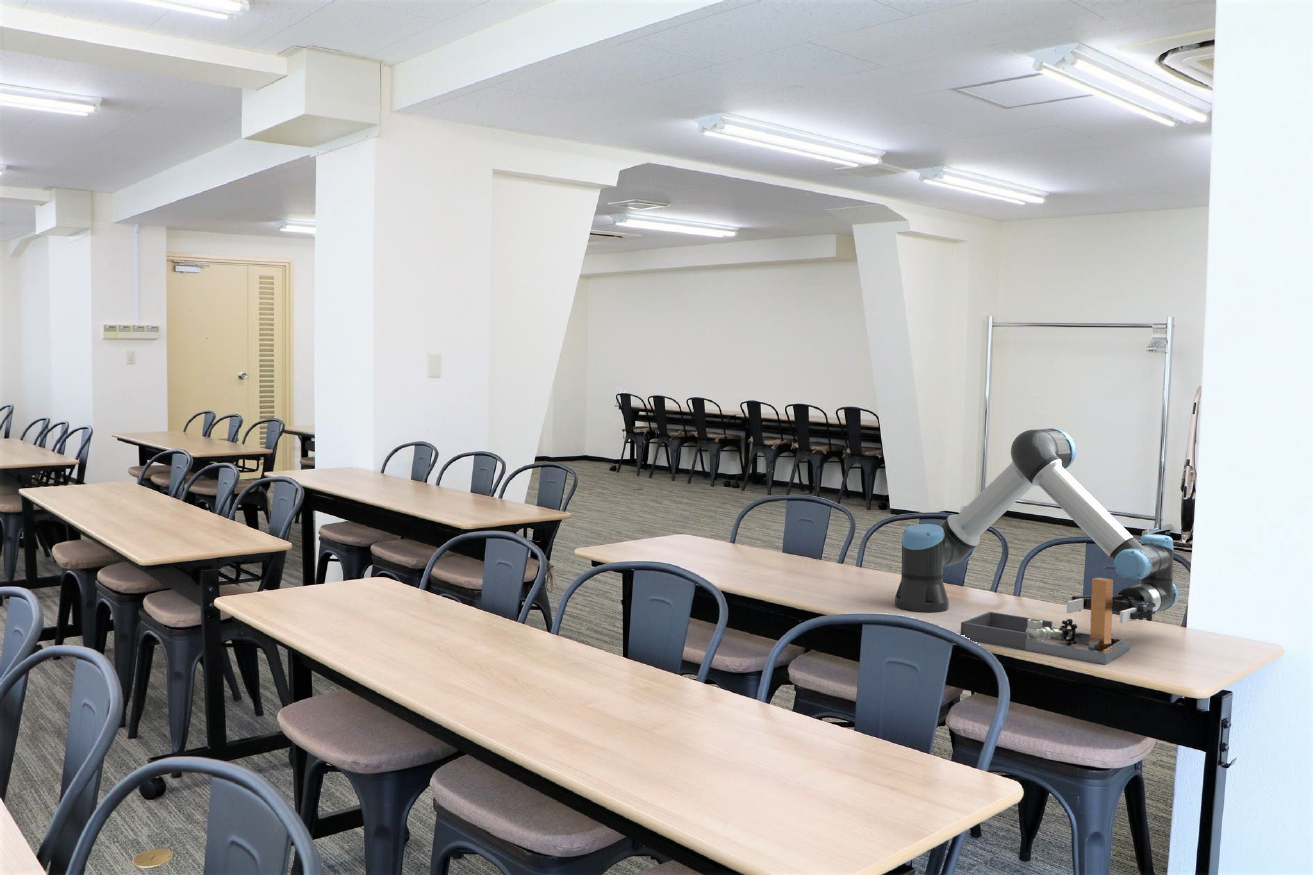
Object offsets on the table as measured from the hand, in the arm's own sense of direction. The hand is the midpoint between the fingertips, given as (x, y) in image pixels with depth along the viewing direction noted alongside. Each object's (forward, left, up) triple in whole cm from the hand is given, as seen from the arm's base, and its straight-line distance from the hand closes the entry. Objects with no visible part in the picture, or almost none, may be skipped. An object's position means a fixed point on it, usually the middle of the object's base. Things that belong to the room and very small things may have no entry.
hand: (1094, 612), depth 233 cm
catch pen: (-3, -22, -10) cm, 25 cm away
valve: (-3, -11, -11) cm, 16 cm away
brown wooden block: (-3, +1, -10) cm, 11 cm away
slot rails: (-3, -5, -10) cm, 12 cm away
